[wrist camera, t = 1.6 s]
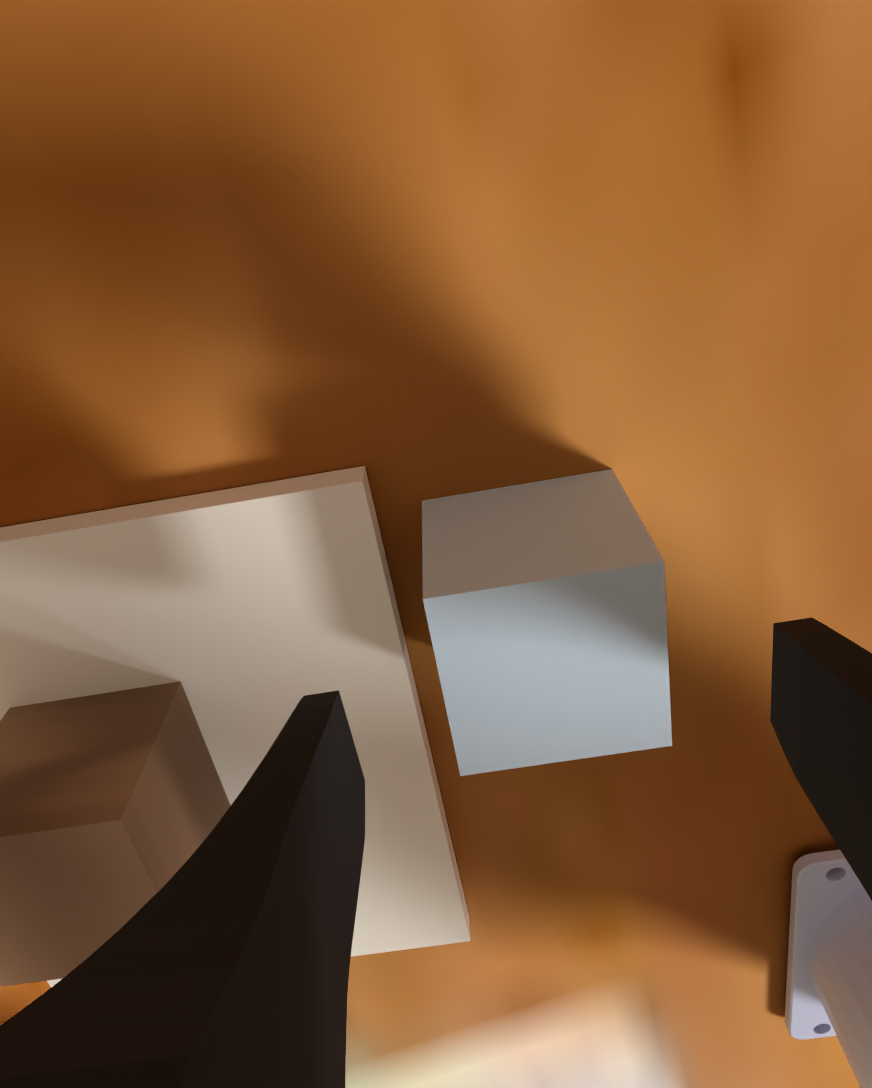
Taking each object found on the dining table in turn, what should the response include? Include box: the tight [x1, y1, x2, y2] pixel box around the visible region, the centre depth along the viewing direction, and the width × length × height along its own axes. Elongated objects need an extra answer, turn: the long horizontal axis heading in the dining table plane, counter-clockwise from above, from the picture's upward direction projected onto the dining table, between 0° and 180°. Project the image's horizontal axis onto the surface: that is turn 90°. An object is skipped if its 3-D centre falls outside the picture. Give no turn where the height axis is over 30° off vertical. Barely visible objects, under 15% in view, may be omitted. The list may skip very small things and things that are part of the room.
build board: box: [0, 466, 470, 988], centre depth 19 cm, size 12×14×1 cm
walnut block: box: [0, 681, 231, 986], centre depth 17 cm, size 4×4×4 cm
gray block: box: [422, 469, 672, 776], centre depth 16 cm, size 4×4×4 cm
